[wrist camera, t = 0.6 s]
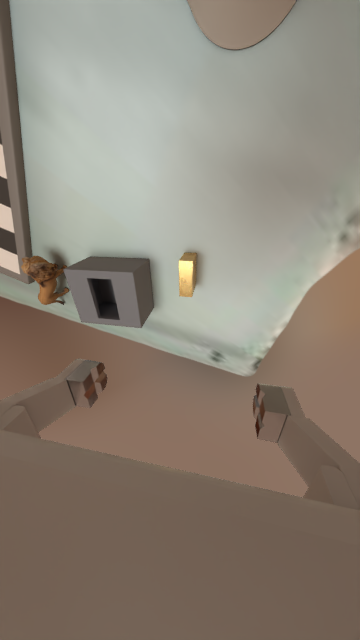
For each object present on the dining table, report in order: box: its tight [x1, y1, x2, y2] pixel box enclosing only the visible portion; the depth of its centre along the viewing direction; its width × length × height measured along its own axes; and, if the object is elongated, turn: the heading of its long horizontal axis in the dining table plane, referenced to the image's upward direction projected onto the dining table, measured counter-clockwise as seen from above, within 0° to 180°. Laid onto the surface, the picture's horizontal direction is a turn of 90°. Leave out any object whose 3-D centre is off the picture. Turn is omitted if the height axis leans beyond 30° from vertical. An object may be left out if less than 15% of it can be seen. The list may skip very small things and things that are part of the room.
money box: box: [63, 257, 154, 328], centre depth 43 cm, size 12×14×9 cm
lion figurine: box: [21, 256, 69, 305], centre depth 45 cm, size 15×5×9 cm, turn 170°
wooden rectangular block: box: [179, 253, 197, 297], centre depth 39 cm, size 7×2×6 cm, turn 1°
